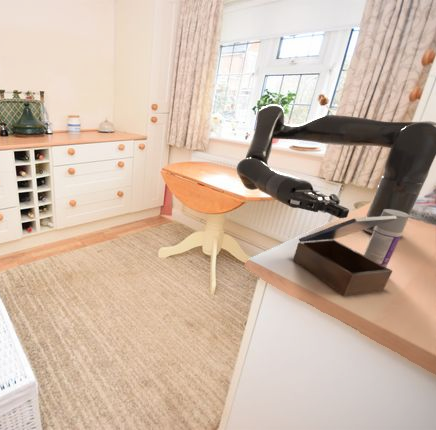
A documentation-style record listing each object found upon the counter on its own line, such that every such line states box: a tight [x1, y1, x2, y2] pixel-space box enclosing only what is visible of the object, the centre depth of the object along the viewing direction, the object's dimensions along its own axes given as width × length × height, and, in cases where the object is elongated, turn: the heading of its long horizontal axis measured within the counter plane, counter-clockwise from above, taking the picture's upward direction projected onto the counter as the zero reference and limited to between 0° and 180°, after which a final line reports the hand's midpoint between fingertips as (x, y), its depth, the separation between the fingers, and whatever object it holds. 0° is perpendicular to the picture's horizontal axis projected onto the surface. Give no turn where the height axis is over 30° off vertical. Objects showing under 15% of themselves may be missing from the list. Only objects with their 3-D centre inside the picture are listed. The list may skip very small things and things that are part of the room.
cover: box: [298, 215, 397, 242], centre depth 66 cm, size 15×10×1 cm
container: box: [363, 209, 410, 268], centre depth 69 cm, size 5×5×15 cm
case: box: [292, 239, 393, 297], centre depth 68 cm, size 14×10×5 cm
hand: (345, 214), depth 64 cm, fingers closed
